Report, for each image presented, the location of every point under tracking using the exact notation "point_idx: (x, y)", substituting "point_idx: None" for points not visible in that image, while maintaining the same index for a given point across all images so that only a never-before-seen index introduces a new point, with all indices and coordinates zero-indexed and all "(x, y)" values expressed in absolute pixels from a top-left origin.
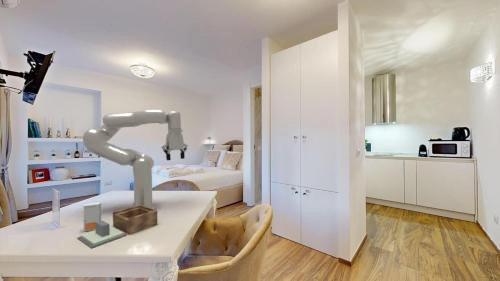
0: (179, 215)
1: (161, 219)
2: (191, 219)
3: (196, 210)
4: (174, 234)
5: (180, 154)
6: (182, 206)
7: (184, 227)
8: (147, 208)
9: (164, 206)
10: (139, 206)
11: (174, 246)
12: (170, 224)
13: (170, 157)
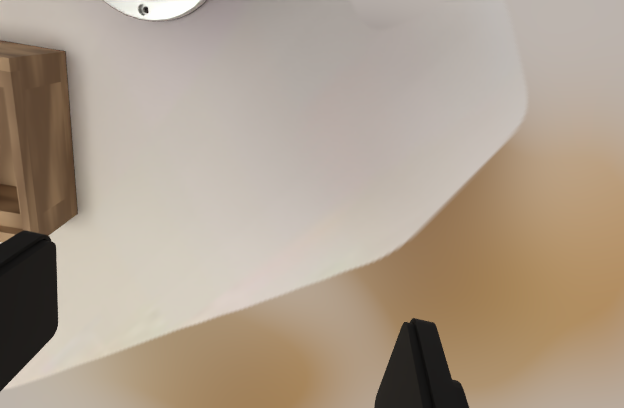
0: (210, 225)
1: (125, 182)
2: (203, 305)
3: (310, 257)
4: (69, 332)
5: (421, 398)
6: (335, 136)
7: (129, 327)
8: (17, 164)
9: (282, 12)
10: (6, 69)
11: (24, 379)
12: (114, 262)
13: (16, 373)
